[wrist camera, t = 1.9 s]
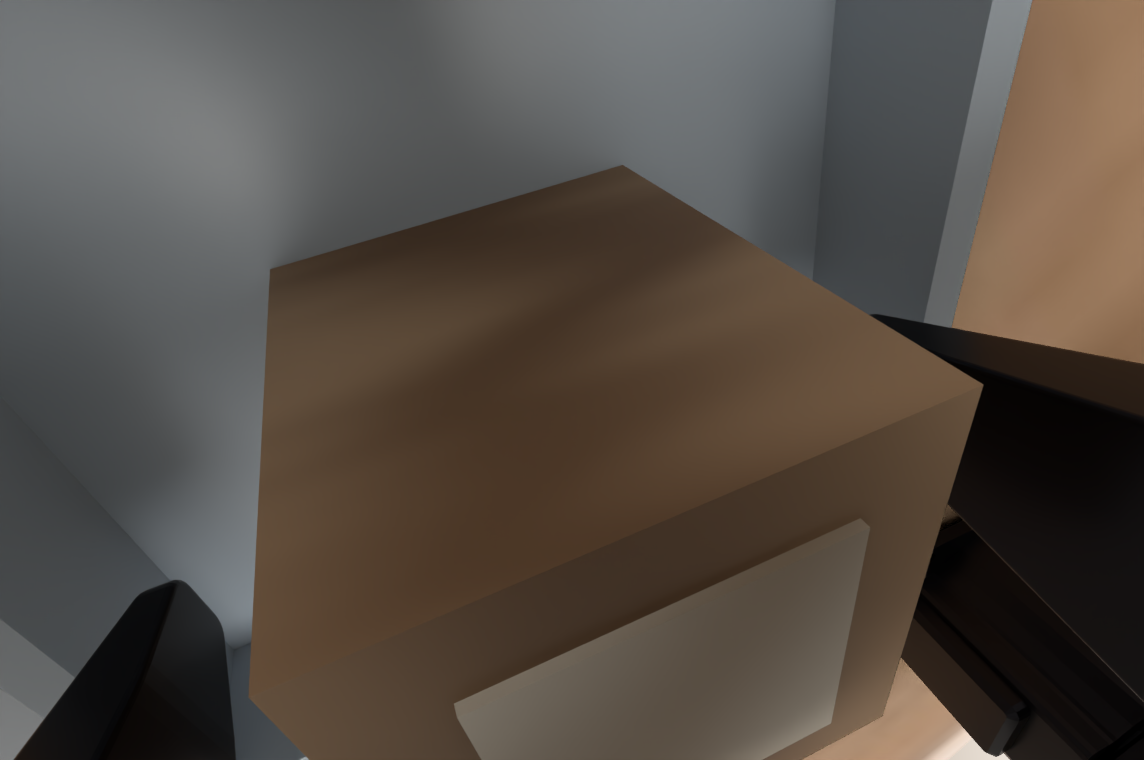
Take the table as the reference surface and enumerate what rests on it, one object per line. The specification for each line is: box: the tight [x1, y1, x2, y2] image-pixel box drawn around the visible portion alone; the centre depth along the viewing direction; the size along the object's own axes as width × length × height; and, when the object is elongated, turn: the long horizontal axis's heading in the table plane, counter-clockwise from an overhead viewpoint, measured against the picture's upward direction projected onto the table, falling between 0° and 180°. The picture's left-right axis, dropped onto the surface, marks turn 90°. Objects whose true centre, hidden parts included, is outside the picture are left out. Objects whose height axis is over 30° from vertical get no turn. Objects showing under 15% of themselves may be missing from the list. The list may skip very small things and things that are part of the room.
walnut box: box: [248, 165, 983, 760], centre depth 8 cm, size 5×5×6 cm
